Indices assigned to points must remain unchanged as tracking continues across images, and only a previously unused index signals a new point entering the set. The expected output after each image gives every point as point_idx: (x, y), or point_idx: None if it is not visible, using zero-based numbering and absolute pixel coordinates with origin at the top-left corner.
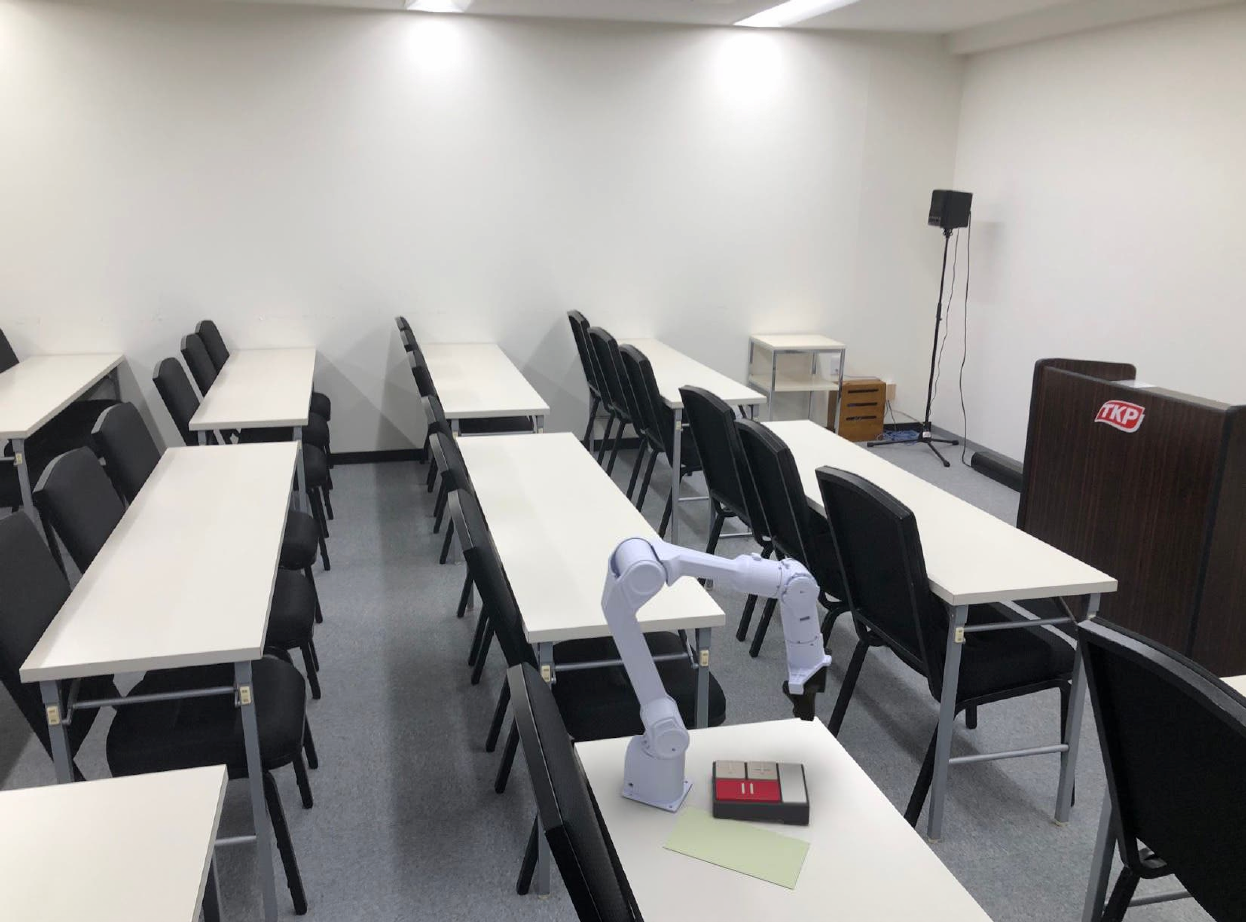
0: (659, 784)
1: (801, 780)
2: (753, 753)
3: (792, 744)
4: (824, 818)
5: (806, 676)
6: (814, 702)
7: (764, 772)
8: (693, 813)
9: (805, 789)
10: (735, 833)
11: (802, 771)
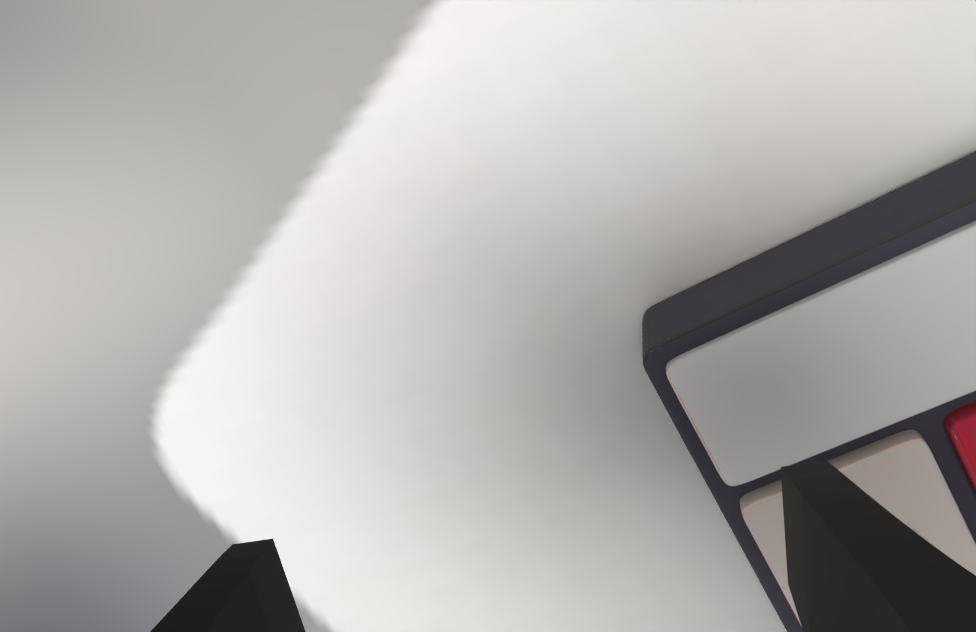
0: None
1: (852, 296)
2: (543, 616)
3: (343, 474)
4: (897, 74)
5: None
6: (955, 619)
7: None
8: None
9: (919, 239)
10: None
11: (726, 328)
